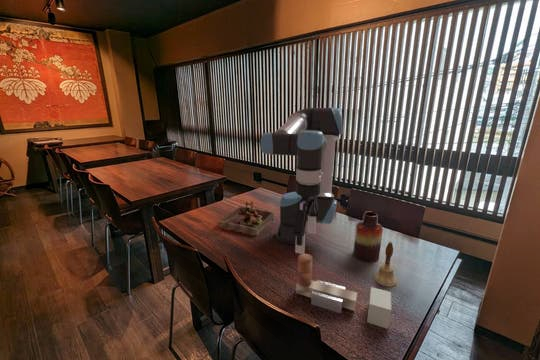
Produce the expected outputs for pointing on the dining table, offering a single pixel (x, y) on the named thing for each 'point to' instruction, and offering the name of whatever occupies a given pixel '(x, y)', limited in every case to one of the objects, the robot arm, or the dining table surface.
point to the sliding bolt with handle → (320, 284)
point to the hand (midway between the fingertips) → (305, 242)
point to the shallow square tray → (249, 230)
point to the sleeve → (327, 299)
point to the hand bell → (386, 270)
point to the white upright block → (379, 307)
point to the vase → (368, 238)
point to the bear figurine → (251, 217)
